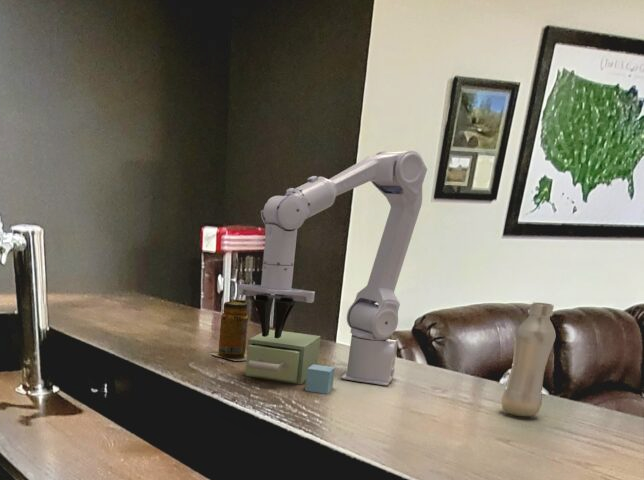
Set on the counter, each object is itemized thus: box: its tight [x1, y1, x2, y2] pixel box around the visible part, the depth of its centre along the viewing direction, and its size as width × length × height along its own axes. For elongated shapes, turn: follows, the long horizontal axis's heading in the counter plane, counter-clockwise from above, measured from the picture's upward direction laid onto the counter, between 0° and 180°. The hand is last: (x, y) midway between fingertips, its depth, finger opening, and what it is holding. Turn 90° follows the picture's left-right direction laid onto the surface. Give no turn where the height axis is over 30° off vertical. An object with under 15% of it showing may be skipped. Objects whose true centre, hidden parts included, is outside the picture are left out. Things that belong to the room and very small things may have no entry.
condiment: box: [209, 301, 249, 362], centre depth 162 cm, size 7×8×12 cm
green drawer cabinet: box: [245, 329, 322, 385], centre depth 150 cm, size 14×12×8 cm
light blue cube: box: [304, 364, 336, 395], centre depth 139 cm, size 4×4×4 cm
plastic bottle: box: [500, 301, 557, 417], centre depth 128 cm, size 6×7×20 cm
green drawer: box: [244, 344, 300, 382], centre depth 145 cm, size 18×10×6 cm, turn 157°
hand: (271, 336), depth 139 cm, fingers closed
